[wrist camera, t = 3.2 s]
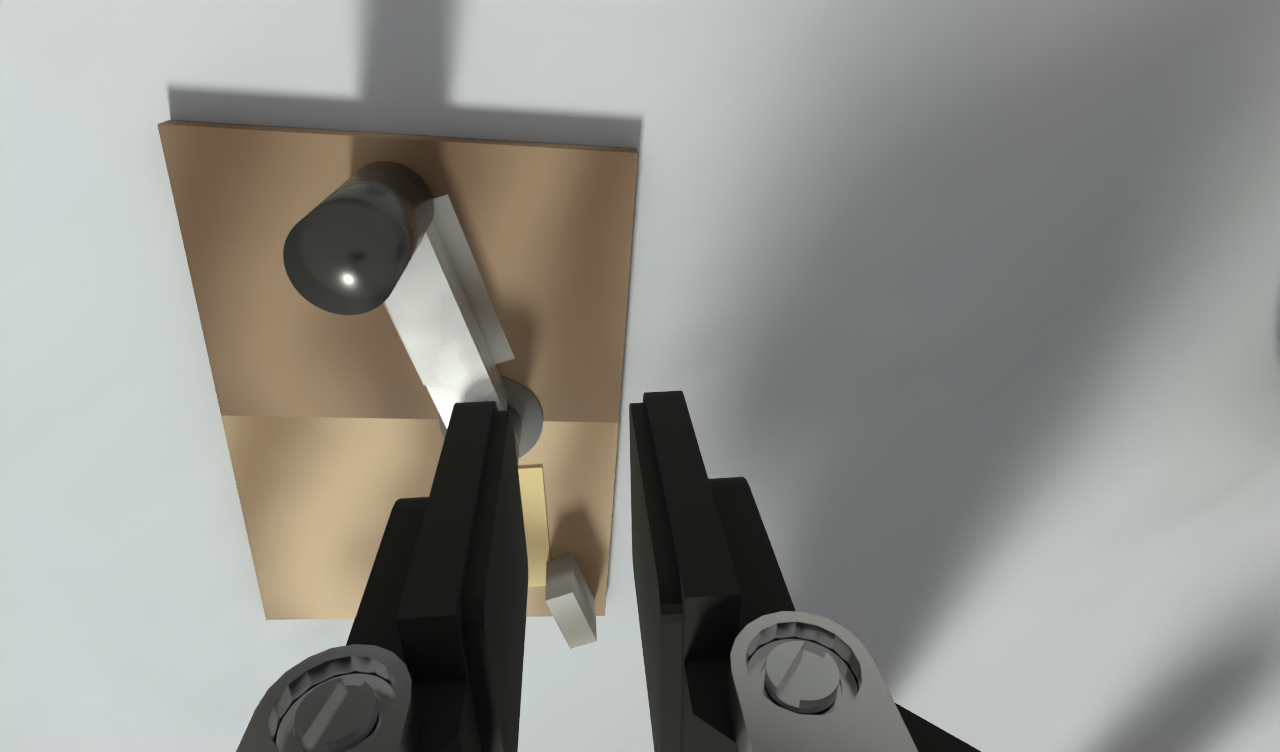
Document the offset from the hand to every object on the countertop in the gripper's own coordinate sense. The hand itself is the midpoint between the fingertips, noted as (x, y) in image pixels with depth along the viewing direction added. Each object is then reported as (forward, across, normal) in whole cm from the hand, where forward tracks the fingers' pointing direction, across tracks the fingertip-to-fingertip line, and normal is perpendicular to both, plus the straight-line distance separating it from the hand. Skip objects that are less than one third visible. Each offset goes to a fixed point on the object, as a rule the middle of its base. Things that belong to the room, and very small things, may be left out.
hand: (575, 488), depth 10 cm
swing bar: (+16, +5, +4) cm, 17 cm away
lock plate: (+17, +6, +8) cm, 20 cm away
